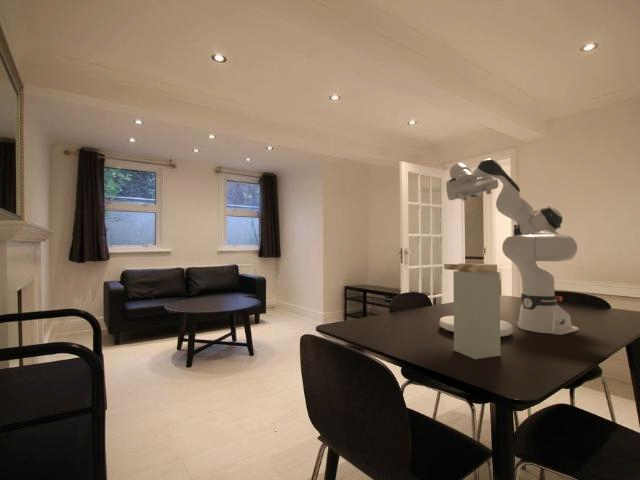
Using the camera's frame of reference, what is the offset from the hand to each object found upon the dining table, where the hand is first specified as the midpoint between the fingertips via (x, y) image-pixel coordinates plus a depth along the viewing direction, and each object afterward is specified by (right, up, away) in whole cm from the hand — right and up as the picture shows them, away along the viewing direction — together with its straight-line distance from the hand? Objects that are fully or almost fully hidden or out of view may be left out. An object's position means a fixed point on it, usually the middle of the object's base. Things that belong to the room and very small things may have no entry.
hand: (477, 195), depth 135 cm
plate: (-3, -55, -4) cm, 55 cm away
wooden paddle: (-15, -28, -25) cm, 41 cm away
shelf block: (-14, -54, -29) cm, 63 cm away
